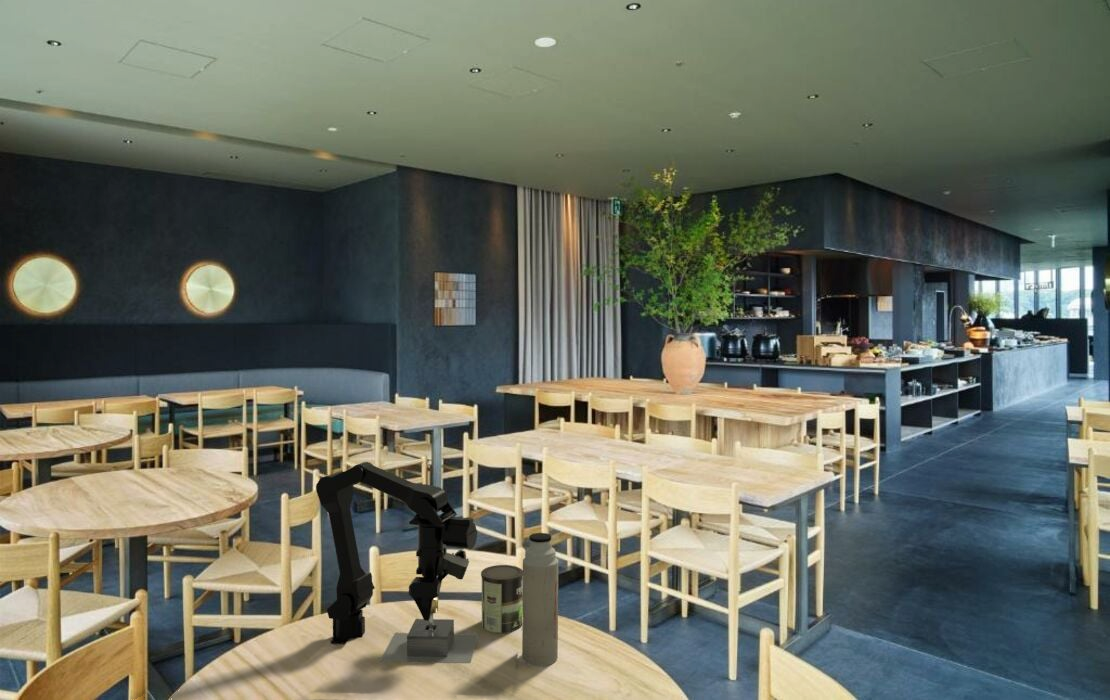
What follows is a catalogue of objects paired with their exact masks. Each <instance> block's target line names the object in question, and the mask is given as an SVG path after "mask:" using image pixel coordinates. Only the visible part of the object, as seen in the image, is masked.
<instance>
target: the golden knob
mask: <svg viewBox="0 0 1110 700" xmlns="http://www.w3.org/2000/svg"><path fill="white" fill-rule="evenodd" d="M438 612H439V597H436V598H434V599H433V603H432V609H431V614H430V619H429V628H427V629H426V630H436V628H433V619H434V614H436V613H438Z"/></svg>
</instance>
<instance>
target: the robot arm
mask: <svg viewBox="0 0 1110 700" xmlns="http://www.w3.org/2000/svg"><path fill="white" fill-rule="evenodd" d="M359 483H361V484H364V485H366V486H368V487H370V488H373V489H375V490H377V491H380V492H382V493H384V494H386V495H388V496H390V497H393V498H395V499H397V500H399V501H401V502H403V503H404V504H405V505H406V506H407V508H408V509H409V510H410V511H411V512H413V513H414V514H415V516H414V517H413V518H412V519H411V520H409V521H408V524H409V525H411V526H417V535H418V537H417V538H418V539H417V540H418V541H417V550H416V551H415V557H417V564H418V565H417V567H416V570H415V571H416V572H415V573H416V575H421V576H416V577H414V579H412V581H411V582H410V584H409V586H408V595H409V596H410V597H411V598H412V599H413V601H414V603H415V605H416V606H417V608H418V610H419V613H420V615H421V616H422V619H424V620H425V621H429V619H430V614H431V609H432V603H433V599H434V598H436V597H438V598H439V596H440V592H441V587H442V582H443V580H444V579H445V578H446V577H447V576H448V575H449V576H451V577H455V579H456V580H457V579H458V580H463V579H464V577H465V574H466V571H467V568H468V566H469V564H470V560H469V558H467V553H466V550H472V549H474V548H475V545H476V543H477V541H478V539H477V538H478V529H477V526H476V524H475V523H474V518H473V517H469V516H467V517H462V516H461V517H459V516H458V515H457V512H456V510H455V509H454V508H453V506H452V504H451V503H450V501H449V499H448V497H447V493H446V491H445V490H444V489H443V488H441V487H440V486H435V485H431V484H428V483H427V484H425V483H424V484H423V483H415V482H412V481H409V480H407V479H405V478H402V477H400V476H398V475H396V474H393V473H391V472H390V471H387V470H385V469H383V468H380V467H378V466H375V465H373V463H371V462H368V461H363V462H360V463H357V464H355V465H353V466H352V467H351V468H349V469H346V470H345V471H343V470H342V471H341V470H338V471H337V472H334V473H330V474H327V475H326V476H322V477H320V479H319V480H318V481H317V482H316V484H315V491H316V495H317V497H318V499H319V503H320V505H321V506H322V507H323V508H324V510H325V511H326V512H327V514H328V517H329V522H330V523H329V524H330V527H331V533H332V539H333V540H332V541H333V545H334V548H335V555H336V559H337V566H338V572H339V574H338V575H339V576H338V579H337V582H336V588H335V594H336V600H335V601H334V602H333V603H331V604H330V605H329V607H327V609H326V613H327V616H328V618H329V620H331V619H332V638H330V639H331V640H330V642H329V643H330V644H340V645H346V644H347V643H348V641H350V640H352V639H355V638H357V639H359V638H363V636H364V634H365V633H366V618H365V616H363V613H364V612H363V609H364V608H366V607H367V604H368V602H369V601H370V600H371V599H372V597H373V595H374V589H376V587H375V585H374V583H373V574H372V572H366V571H364V570H363V568H362V566H361V563H360V562H361V561H360V556H359V550H358V545H357V539H356V535H355V530H354V525H353V524H354V523H353V519H352V512H351V505H352V501H353V497H354V486H355V485H358V484H359ZM440 512H442V513H441V514H439V513H440ZM447 548H455V549H459V550H457V552H456V553H454V552H452V553H450V552H447V551H448V550H447ZM463 549H464V550H463Z"/></svg>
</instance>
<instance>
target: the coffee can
mask: <svg viewBox="0 0 1110 700" xmlns="http://www.w3.org/2000/svg"><path fill="white" fill-rule="evenodd" d="M480 576H481V628H482V629H484V630H485V631H487V632H490V633H493V634H508V633H512V632H516V631H517V630H519V629H521V631H522V629H523V568H521V567H519V566H515V565H510V564H509V565H508V564H496V565H490V566H488V567H485V568H484V569H482V570H481V571H480Z"/></svg>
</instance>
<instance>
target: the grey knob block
mask: <svg viewBox="0 0 1110 700" xmlns="http://www.w3.org/2000/svg"><path fill="white" fill-rule="evenodd" d="M410 627H411V628H410V629H409V632H407V633H408V635H407V656H414V657H448V654H449V651H450V648H451V645H452V643H453V640H454V634H455V619H446V618H445V619H443V618H441V619H440V618H438V619H437V618H433V628H436V630H426V629H427V628H429V621H425V620H424V619H423V618H415V619H414V621H413V622H412V625H411V626H410Z"/></svg>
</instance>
